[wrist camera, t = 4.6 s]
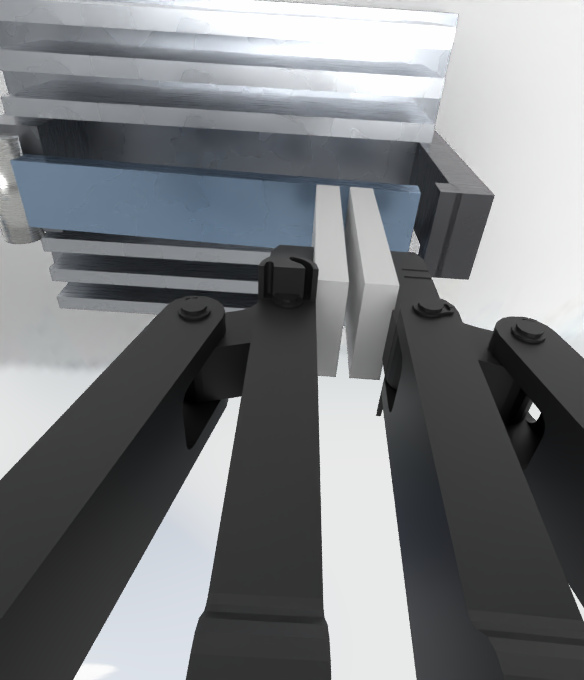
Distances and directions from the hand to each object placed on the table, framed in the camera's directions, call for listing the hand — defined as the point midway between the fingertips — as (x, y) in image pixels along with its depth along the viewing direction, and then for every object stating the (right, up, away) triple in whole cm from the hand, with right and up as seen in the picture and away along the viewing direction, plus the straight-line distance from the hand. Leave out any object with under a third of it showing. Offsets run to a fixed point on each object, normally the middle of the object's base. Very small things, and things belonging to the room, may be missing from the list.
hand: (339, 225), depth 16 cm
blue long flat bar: (-5, +1, +1) cm, 5 cm away
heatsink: (-5, +5, +6) cm, 10 cm away
